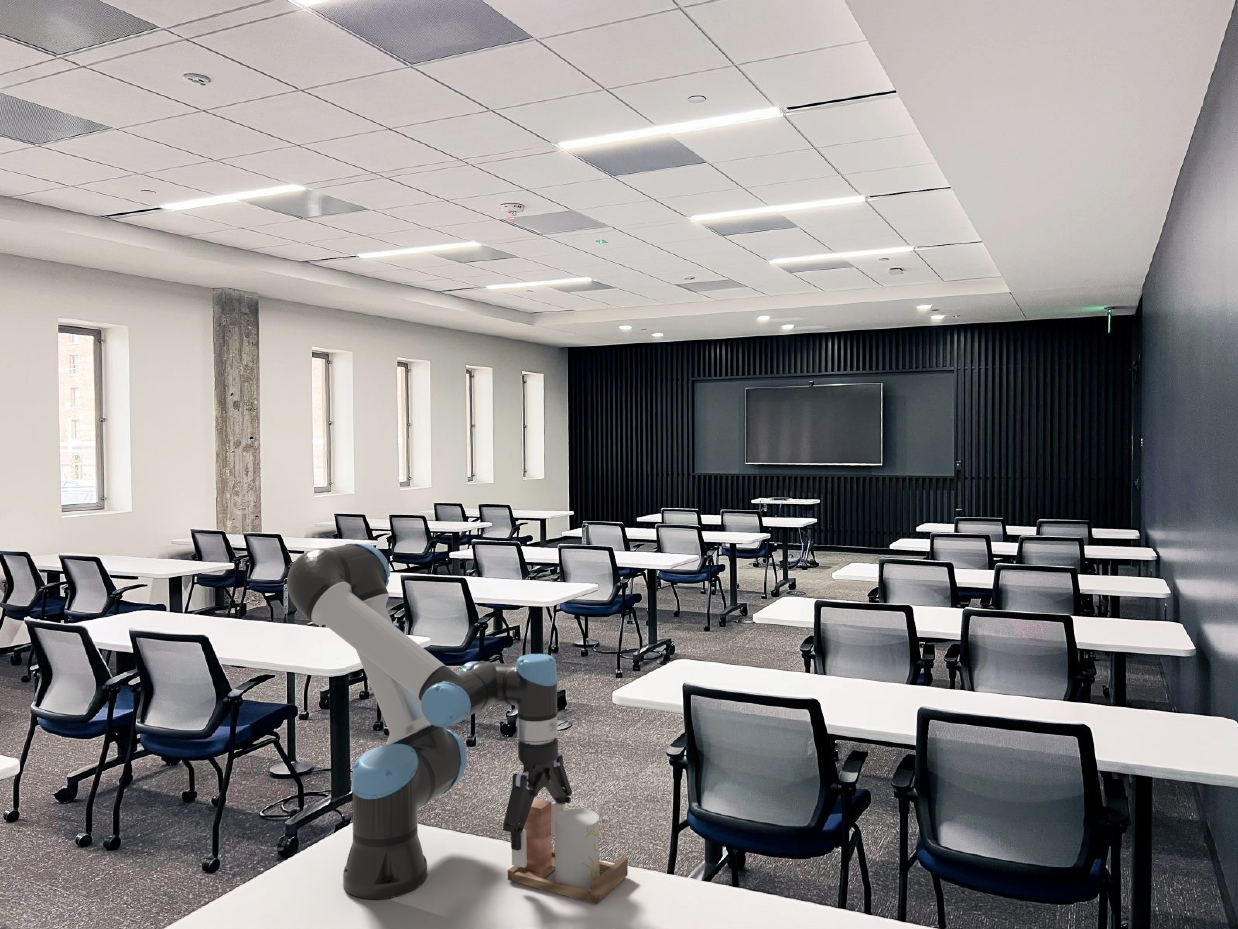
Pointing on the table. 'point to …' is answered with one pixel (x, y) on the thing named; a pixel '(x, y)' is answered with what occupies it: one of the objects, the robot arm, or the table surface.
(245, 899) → the table surface
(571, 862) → the cup
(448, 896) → the table surface
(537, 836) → the sled
